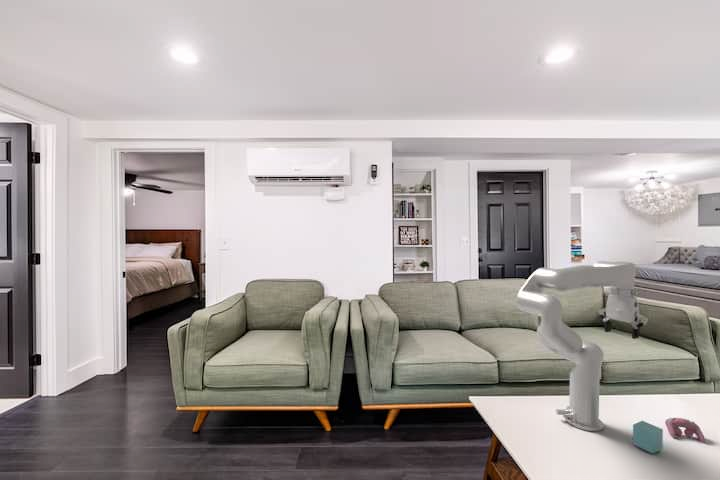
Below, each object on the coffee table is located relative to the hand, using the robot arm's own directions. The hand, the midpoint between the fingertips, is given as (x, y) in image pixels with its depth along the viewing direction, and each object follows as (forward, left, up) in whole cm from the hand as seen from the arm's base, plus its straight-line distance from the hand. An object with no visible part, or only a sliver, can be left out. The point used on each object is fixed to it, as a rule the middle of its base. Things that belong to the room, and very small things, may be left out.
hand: (621, 334), depth 136 cm
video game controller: (+13, -14, -33) cm, 38 cm away
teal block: (-6, -23, -31) cm, 39 cm away
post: (-6, -23, -32) cm, 40 cm away
